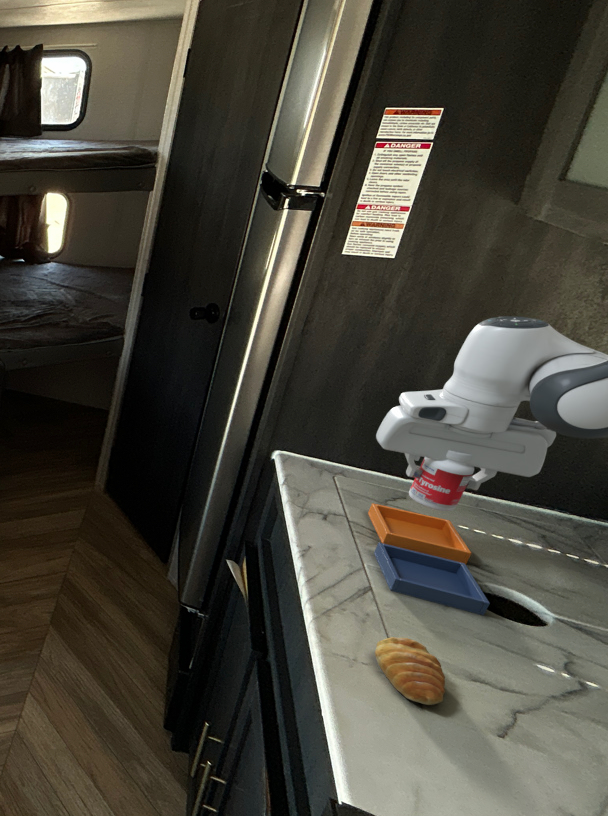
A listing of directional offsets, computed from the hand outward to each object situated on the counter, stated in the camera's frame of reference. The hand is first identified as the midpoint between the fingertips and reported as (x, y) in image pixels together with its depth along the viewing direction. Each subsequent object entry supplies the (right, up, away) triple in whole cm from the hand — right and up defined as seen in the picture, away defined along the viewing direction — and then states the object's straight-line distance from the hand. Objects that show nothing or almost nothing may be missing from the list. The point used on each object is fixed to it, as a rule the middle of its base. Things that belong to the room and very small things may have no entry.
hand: (439, 481), depth 109 cm
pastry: (-27, -23, -23) cm, 42 cm away
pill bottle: (0, -4, +2) cm, 4 cm away
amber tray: (0, -11, +5) cm, 12 cm away
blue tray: (-8, -15, -6) cm, 19 cm away
